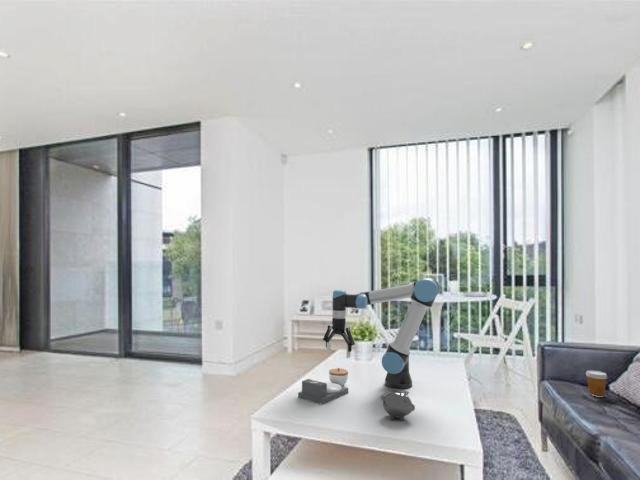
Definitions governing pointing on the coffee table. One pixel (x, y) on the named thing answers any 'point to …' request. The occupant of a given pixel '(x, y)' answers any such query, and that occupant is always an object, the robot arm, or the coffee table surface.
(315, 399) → the scale
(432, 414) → the coffee table surface
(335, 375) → the lidded jar
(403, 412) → the piggy bank
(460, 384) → the coffee table surface
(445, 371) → the coffee table surface
